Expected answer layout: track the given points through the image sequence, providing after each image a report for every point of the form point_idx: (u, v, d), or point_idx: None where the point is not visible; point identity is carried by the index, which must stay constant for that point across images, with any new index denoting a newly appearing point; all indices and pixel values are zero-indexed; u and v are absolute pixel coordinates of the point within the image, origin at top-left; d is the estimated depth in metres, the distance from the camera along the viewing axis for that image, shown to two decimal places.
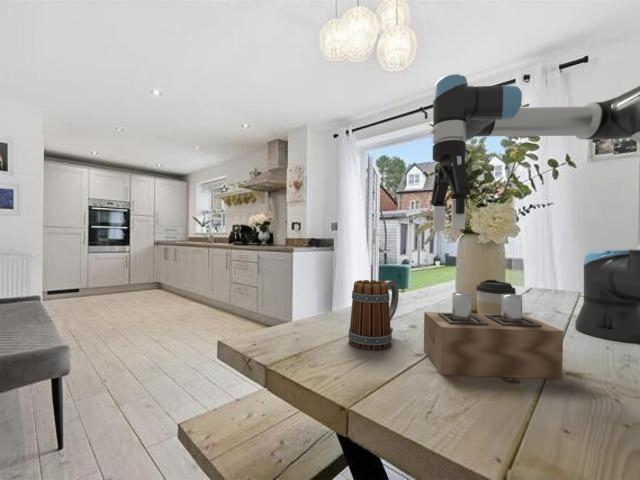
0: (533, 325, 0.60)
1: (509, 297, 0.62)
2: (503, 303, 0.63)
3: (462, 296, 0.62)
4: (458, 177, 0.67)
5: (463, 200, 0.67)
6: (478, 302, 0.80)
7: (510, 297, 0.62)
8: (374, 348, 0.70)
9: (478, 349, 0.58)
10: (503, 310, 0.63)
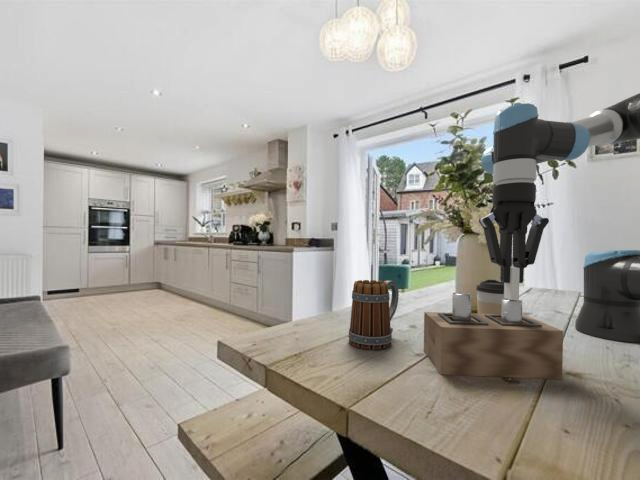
0: (533, 325, 0.60)
1: (509, 302, 0.62)
2: (503, 308, 0.63)
3: (462, 296, 0.62)
4: (487, 244, 0.64)
5: (503, 268, 0.63)
6: (478, 302, 0.80)
7: (510, 302, 0.62)
8: (374, 348, 0.70)
9: (478, 349, 0.58)
10: (503, 315, 0.63)
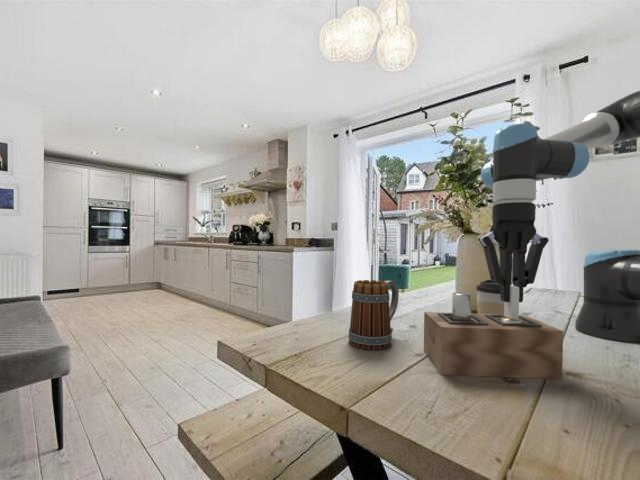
0: (533, 325, 0.60)
1: (509, 321, 0.62)
2: None
3: (462, 296, 0.62)
4: (487, 263, 0.64)
5: (503, 287, 0.63)
6: (478, 302, 0.80)
7: (510, 321, 0.62)
8: (374, 348, 0.70)
9: (478, 349, 0.58)
10: None
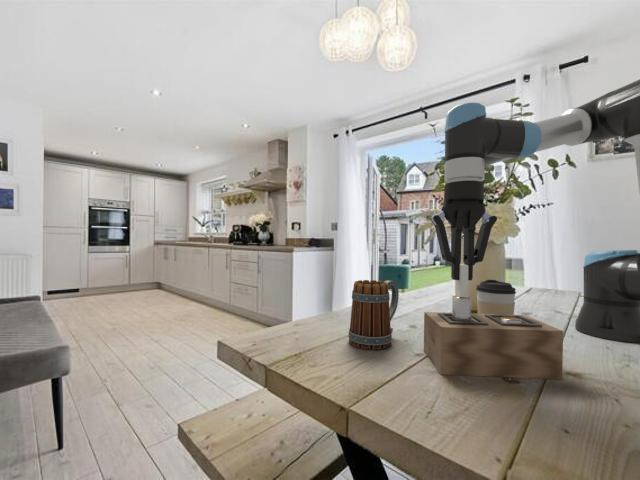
0: (533, 325, 0.60)
1: (509, 321, 0.62)
2: None
3: (462, 299, 0.62)
4: (439, 242, 0.65)
5: (453, 266, 0.64)
6: (478, 302, 0.80)
7: (510, 321, 0.62)
8: (374, 348, 0.70)
9: (478, 349, 0.58)
10: None
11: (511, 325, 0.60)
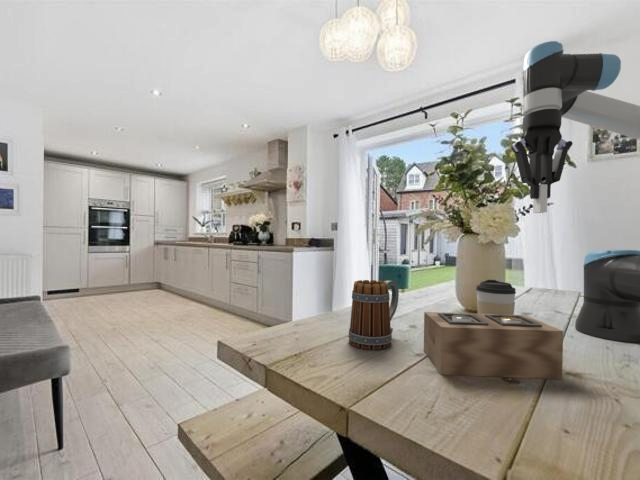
0: (533, 325, 0.60)
1: (509, 321, 0.62)
2: None
3: (462, 320, 0.62)
4: (519, 166, 0.74)
5: (533, 186, 0.73)
6: (478, 302, 0.80)
7: (510, 321, 0.62)
8: (374, 348, 0.70)
9: (478, 349, 0.58)
10: None
11: (511, 325, 0.60)
